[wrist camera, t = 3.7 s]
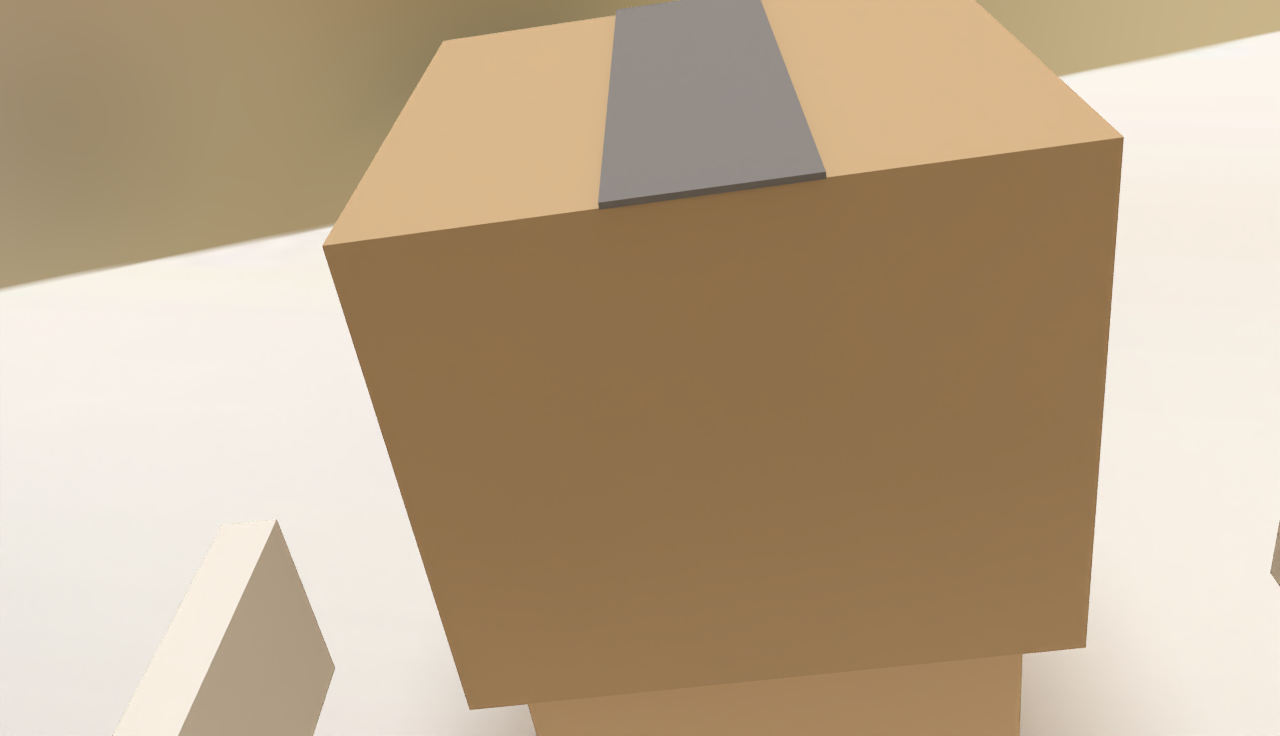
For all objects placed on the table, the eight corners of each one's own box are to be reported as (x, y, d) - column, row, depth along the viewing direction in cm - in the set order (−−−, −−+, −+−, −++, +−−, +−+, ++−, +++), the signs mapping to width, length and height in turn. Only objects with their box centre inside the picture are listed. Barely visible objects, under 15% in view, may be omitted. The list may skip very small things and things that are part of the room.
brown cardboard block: (469, 711, 20) (318, 240, 15) (525, 389, 29) (442, 35, 24) (1086, 649, 19) (1126, 130, 14) (942, 338, 28) (937, -39, 24)
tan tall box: (588, 920, 24) (400, 247, 16) (602, 624, 32) (479, 68, 24) (1013, 884, 24) (1040, 160, 15) (922, 590, 31) (908, 6, 23)
